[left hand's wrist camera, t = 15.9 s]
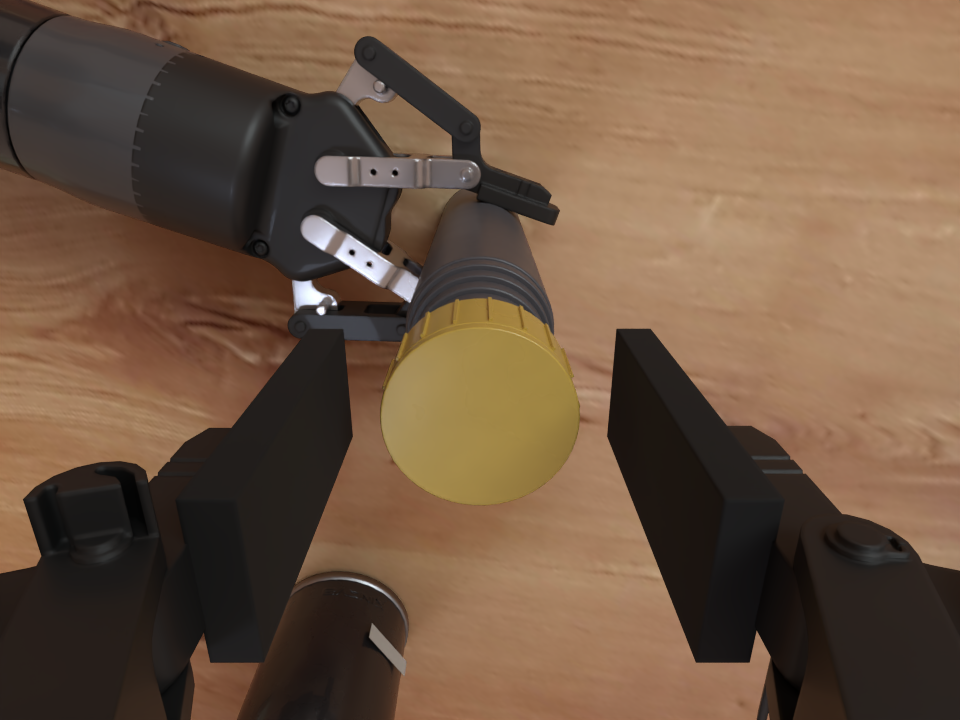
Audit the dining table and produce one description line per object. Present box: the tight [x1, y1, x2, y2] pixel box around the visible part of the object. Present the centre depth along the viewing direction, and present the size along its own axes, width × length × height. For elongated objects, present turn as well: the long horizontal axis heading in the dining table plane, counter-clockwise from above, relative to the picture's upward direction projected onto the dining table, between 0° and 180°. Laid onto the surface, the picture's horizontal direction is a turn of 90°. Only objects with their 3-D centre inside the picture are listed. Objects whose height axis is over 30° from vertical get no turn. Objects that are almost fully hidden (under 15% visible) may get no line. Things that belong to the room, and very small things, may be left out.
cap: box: [380, 297, 580, 505], centre depth 13 cm, size 4×4×2 cm
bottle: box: [406, 189, 554, 335], centre depth 24 cm, size 4×4×23 cm
